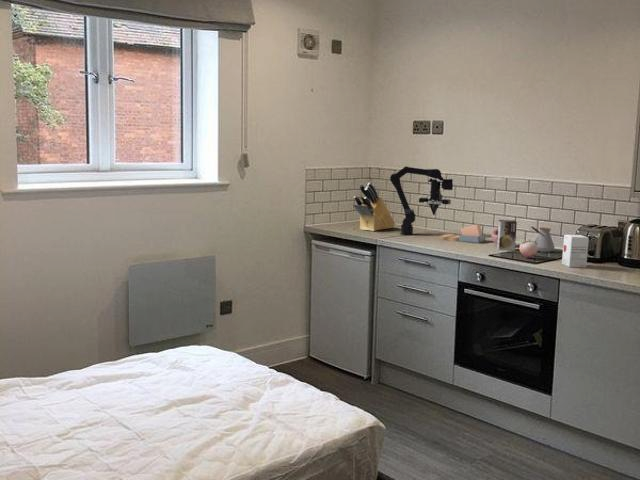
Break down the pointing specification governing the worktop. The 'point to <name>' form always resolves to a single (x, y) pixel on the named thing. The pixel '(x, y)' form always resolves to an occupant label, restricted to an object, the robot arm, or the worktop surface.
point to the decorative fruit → (528, 248)
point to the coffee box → (506, 235)
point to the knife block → (372, 210)
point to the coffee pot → (544, 240)
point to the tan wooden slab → (449, 237)
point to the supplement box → (575, 250)
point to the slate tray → (471, 238)
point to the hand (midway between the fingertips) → (433, 214)
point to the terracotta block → (472, 230)
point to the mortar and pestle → (495, 235)
